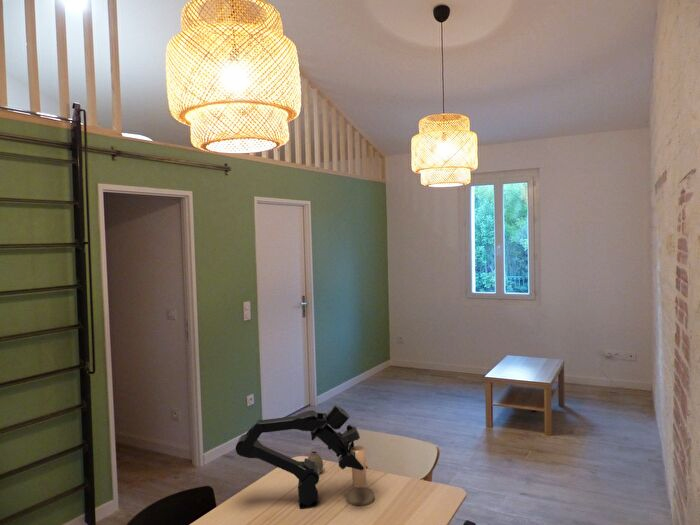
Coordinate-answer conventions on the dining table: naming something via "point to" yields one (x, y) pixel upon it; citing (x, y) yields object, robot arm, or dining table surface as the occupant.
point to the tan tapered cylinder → (358, 475)
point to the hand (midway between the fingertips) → (362, 465)
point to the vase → (316, 460)
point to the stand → (360, 496)
